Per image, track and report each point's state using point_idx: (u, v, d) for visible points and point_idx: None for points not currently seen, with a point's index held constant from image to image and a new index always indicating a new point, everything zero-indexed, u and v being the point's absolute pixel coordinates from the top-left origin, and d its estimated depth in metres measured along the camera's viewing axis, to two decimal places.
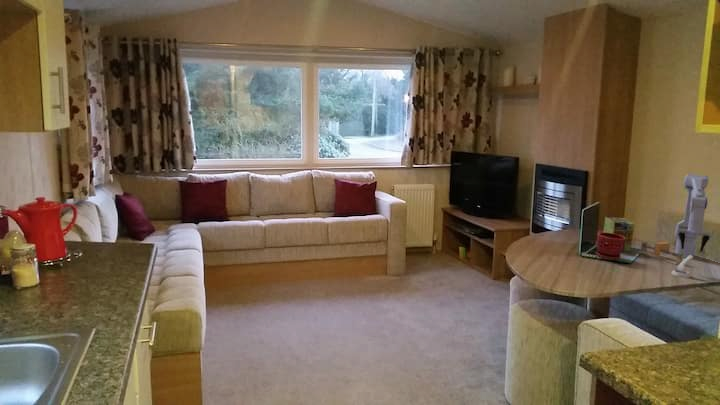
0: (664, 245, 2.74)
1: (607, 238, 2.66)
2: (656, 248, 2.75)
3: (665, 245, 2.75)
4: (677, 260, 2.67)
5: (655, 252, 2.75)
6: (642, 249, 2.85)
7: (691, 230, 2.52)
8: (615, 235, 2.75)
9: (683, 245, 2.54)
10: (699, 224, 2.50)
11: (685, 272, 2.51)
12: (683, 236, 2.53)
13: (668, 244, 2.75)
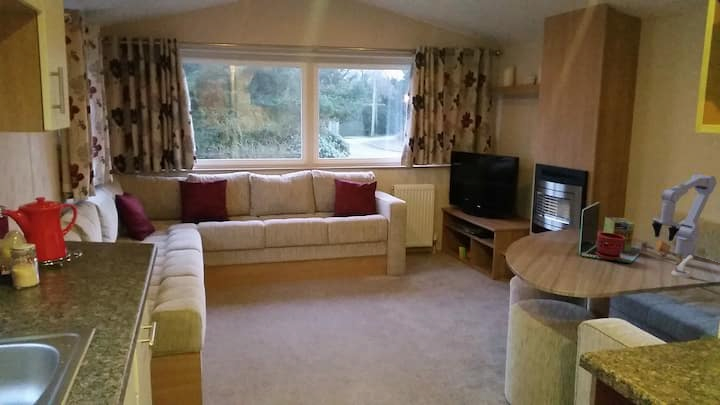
0: (665, 245, 2.75)
1: (607, 238, 2.66)
2: (657, 245, 2.74)
3: (666, 246, 2.75)
4: (677, 260, 2.67)
5: (655, 248, 2.75)
6: (642, 249, 2.85)
7: (660, 220, 2.73)
8: (615, 235, 2.75)
9: (655, 233, 2.77)
10: (666, 215, 2.70)
11: (685, 272, 2.51)
12: (654, 225, 2.76)
13: (669, 246, 2.76)
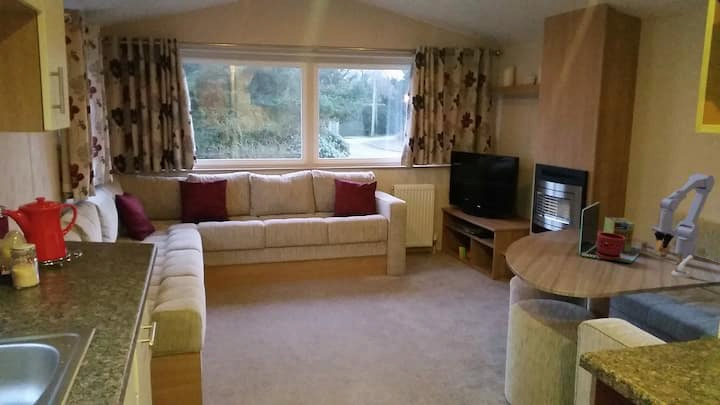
0: None
1: (607, 238, 2.66)
2: (657, 245, 2.75)
3: None
4: (677, 260, 2.67)
5: (655, 248, 2.75)
6: (642, 249, 2.85)
7: (658, 229, 2.74)
8: (615, 235, 2.75)
9: None
10: (664, 224, 2.71)
11: (685, 272, 2.51)
12: (656, 235, 2.76)
13: (669, 246, 2.76)
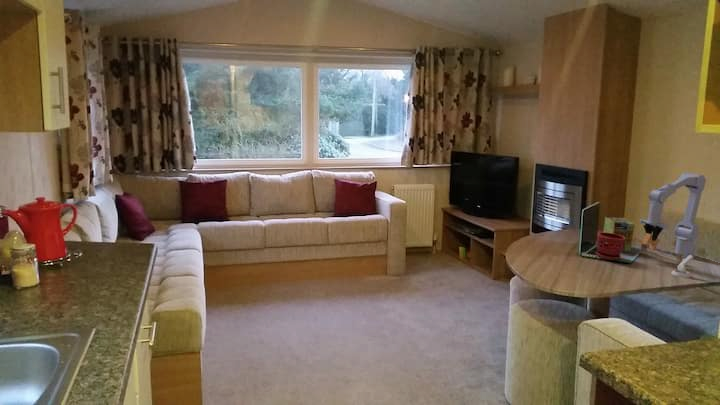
0: None
1: (607, 238, 2.66)
2: (646, 238, 2.70)
3: None
4: (677, 260, 2.67)
5: (644, 242, 2.70)
6: (642, 249, 2.85)
7: (647, 221, 2.70)
8: (615, 235, 2.75)
9: None
10: (653, 216, 2.67)
11: (685, 272, 2.51)
12: (645, 227, 2.71)
13: (657, 240, 2.72)
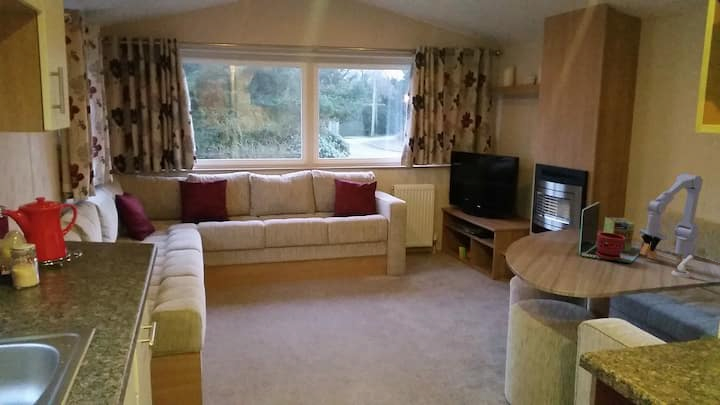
0: None
1: (607, 238, 2.66)
2: (644, 248, 2.71)
3: None
4: (677, 260, 2.67)
5: (642, 252, 2.71)
6: None
7: (646, 231, 2.71)
8: (615, 235, 2.75)
9: None
10: (652, 226, 2.68)
11: (685, 272, 2.51)
12: (644, 237, 2.72)
13: (656, 249, 2.72)
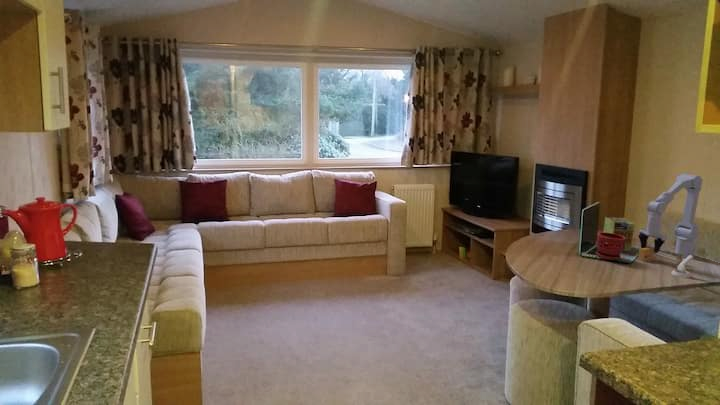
0: (648, 251, 2.70)
1: (607, 238, 2.66)
2: (640, 254, 2.71)
3: (649, 251, 2.71)
4: (677, 260, 2.67)
5: (639, 258, 2.71)
6: None
7: (646, 232, 2.71)
8: (615, 235, 2.75)
9: (641, 245, 2.75)
10: (652, 227, 2.68)
11: (685, 272, 2.51)
12: (640, 237, 2.74)
13: (652, 250, 2.72)
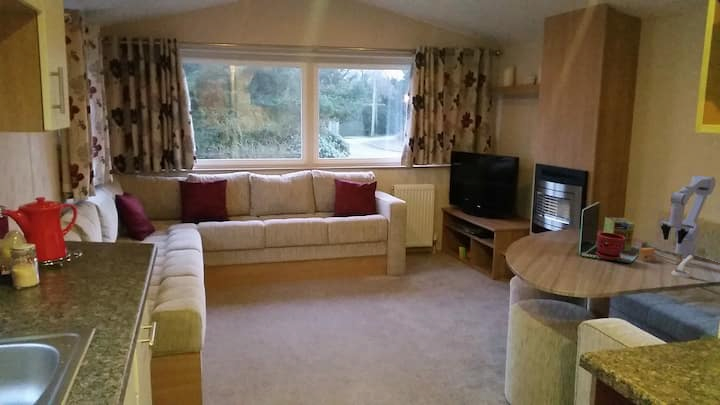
0: (648, 251, 2.70)
1: (607, 238, 2.66)
2: (640, 254, 2.71)
3: (649, 251, 2.71)
4: (677, 260, 2.67)
5: (639, 258, 2.71)
6: None
7: (669, 223, 2.72)
8: (615, 235, 2.75)
9: (664, 236, 2.76)
10: (675, 218, 2.69)
11: (685, 272, 2.51)
12: (663, 228, 2.75)
13: (652, 250, 2.72)
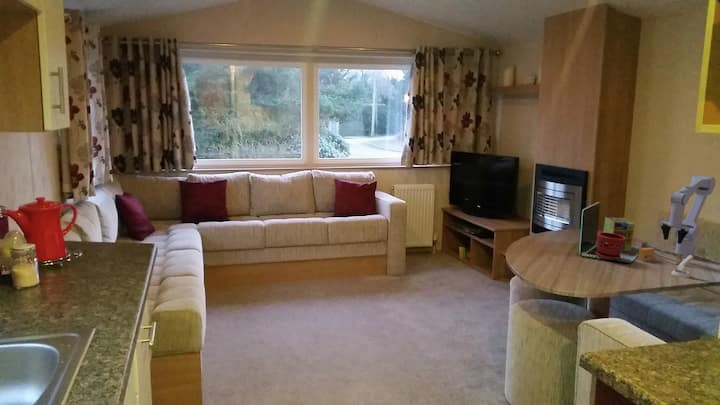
0: (648, 251, 2.70)
1: (607, 238, 2.66)
2: (640, 254, 2.71)
3: (649, 251, 2.71)
4: (677, 260, 2.67)
5: (639, 258, 2.71)
6: None
7: (669, 223, 2.72)
8: (615, 235, 2.75)
9: (664, 236, 2.76)
10: (675, 218, 2.69)
11: (685, 272, 2.51)
12: (663, 228, 2.75)
13: (652, 250, 2.72)
